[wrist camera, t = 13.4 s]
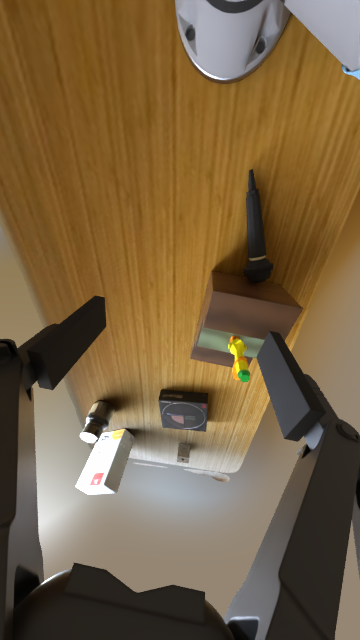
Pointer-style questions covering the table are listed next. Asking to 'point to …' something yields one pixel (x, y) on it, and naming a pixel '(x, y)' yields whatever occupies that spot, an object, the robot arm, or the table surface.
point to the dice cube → (183, 453)
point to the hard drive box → (106, 463)
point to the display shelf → (240, 317)
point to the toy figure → (239, 360)
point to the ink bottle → (97, 421)
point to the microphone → (256, 237)
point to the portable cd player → (183, 410)
